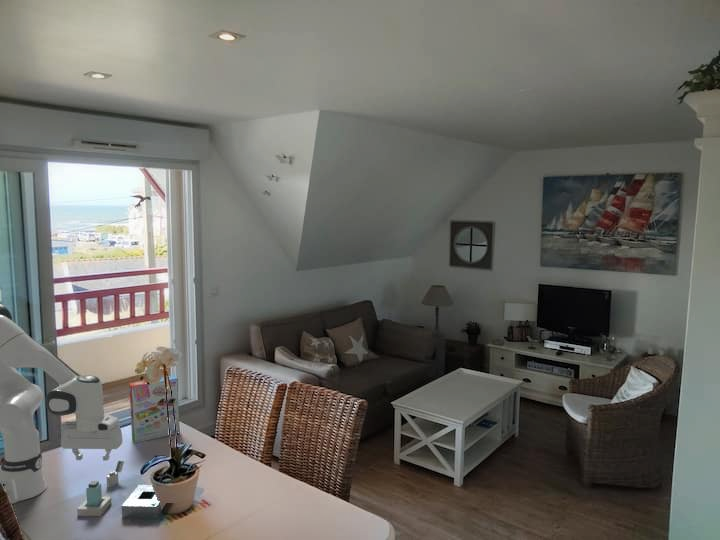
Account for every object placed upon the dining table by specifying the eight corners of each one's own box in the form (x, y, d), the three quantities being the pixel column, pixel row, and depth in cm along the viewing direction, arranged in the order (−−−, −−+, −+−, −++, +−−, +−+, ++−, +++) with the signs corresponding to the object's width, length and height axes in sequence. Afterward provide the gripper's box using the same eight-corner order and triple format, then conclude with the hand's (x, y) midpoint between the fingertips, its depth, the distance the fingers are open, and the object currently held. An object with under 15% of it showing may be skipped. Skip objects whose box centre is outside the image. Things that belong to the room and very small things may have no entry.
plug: (87, 512, 185) (86, 485, 184) (92, 506, 188) (91, 480, 187) (97, 512, 185) (96, 485, 184) (102, 506, 188) (101, 480, 187)
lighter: (109, 487, 201) (109, 468, 200) (106, 486, 202) (105, 467, 201) (125, 479, 207) (124, 460, 206) (121, 478, 208) (120, 459, 207)
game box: (177, 429, 254) (175, 375, 251) (180, 433, 250) (178, 378, 246) (131, 439, 243) (128, 382, 240) (133, 443, 238) (130, 385, 235)
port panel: (122, 518, 182) (121, 504, 181) (139, 496, 195) (138, 483, 195) (156, 518, 181) (156, 505, 181) (171, 496, 195) (171, 484, 195)
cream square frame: (77, 515, 183) (77, 508, 182) (89, 502, 191) (89, 496, 190) (100, 516, 183) (100, 509, 182) (111, 503, 191) (111, 496, 190)
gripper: (55, 425, 180) (58, 463, 181) (115, 425, 180) (117, 464, 181) (66, 418, 186) (68, 455, 188) (123, 418, 186) (125, 455, 187)
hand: (92, 459), depth 184 cm, fingers open, 8 cm apart
